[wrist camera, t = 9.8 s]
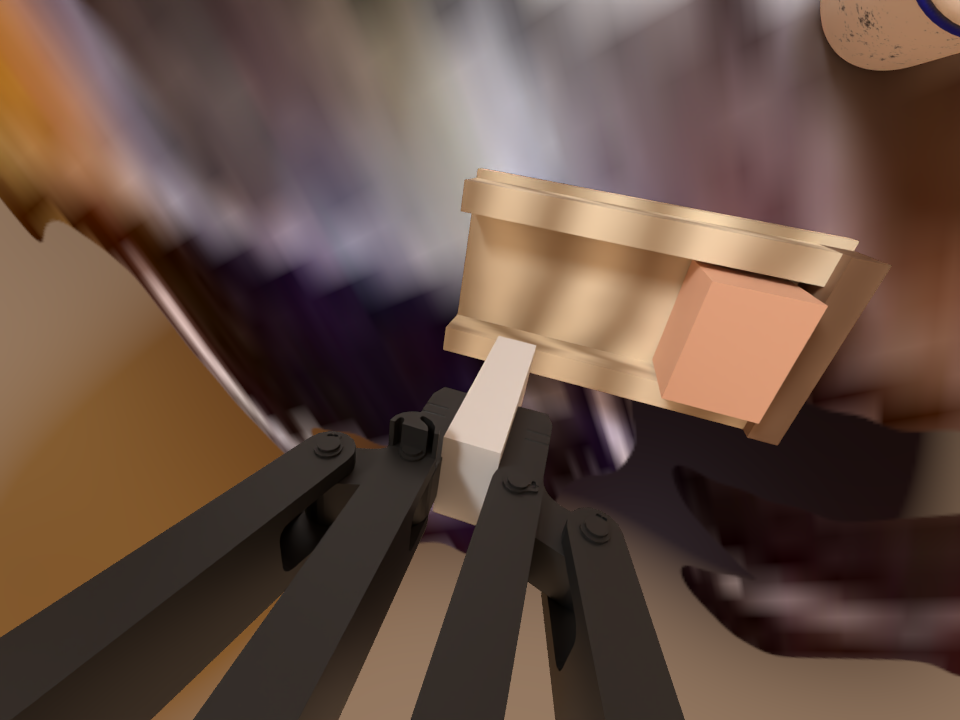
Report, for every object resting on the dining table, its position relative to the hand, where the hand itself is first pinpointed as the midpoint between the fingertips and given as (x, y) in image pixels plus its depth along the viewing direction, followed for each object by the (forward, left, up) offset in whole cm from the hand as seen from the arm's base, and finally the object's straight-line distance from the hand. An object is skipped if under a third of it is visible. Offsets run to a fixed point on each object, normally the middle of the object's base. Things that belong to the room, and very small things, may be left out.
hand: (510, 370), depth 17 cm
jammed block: (+12, -1, -17) cm, 21 cm away
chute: (+5, -1, -19) cm, 19 cm away
